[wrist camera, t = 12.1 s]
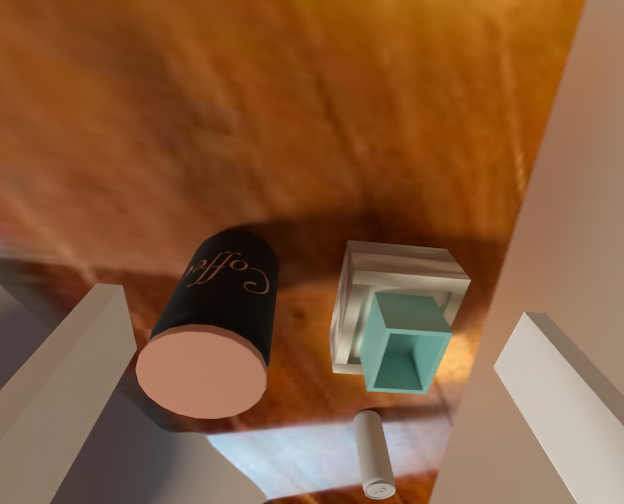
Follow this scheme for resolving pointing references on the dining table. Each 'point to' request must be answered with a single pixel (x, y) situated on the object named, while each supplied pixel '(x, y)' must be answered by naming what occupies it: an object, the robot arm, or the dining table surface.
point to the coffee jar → (215, 331)
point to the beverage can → (373, 455)
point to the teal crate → (403, 343)
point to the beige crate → (388, 290)
